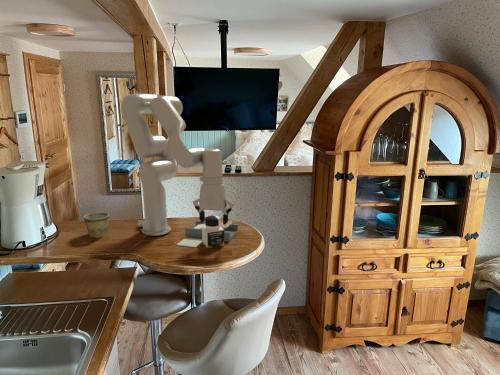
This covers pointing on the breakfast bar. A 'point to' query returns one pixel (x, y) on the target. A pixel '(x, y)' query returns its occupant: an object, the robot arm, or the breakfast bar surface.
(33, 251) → the breakfast bar surface
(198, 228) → the rocker
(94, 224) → the ceramic cup
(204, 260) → the breakfast bar surface
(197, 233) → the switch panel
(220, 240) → the medicine bottle
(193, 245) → the sage mat
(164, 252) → the breakfast bar surface
